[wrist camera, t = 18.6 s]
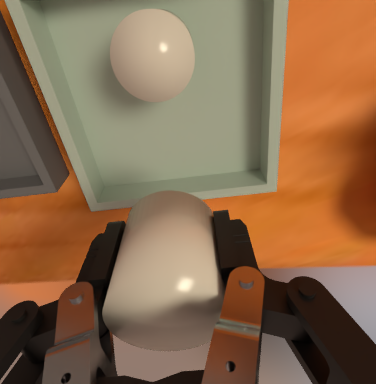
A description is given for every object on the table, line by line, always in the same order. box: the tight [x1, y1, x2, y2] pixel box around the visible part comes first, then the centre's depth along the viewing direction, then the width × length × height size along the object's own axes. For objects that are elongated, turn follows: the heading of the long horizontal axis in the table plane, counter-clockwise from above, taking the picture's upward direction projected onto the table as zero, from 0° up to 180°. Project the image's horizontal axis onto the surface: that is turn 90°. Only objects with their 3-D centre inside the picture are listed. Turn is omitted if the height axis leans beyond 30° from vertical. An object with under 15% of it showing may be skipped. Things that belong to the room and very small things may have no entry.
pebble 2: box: [102, 190, 225, 351], centre depth 12 cm, size 4×4×5 cm
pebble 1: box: [110, 9, 195, 102], centre depth 17 cm, size 4×4×5 cm
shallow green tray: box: [5, 0, 289, 212], centre depth 20 cm, size 16×16×4 cm
